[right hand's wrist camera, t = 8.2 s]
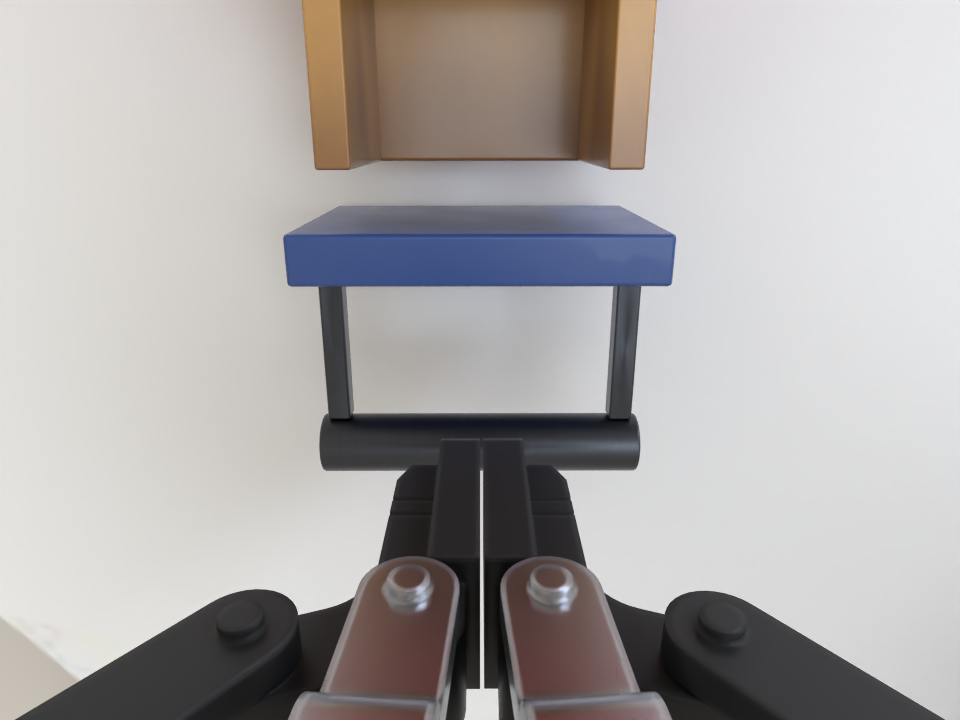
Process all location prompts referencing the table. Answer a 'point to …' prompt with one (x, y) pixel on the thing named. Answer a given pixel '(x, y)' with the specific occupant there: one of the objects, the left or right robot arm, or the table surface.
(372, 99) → the drawer
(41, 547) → the table surface
